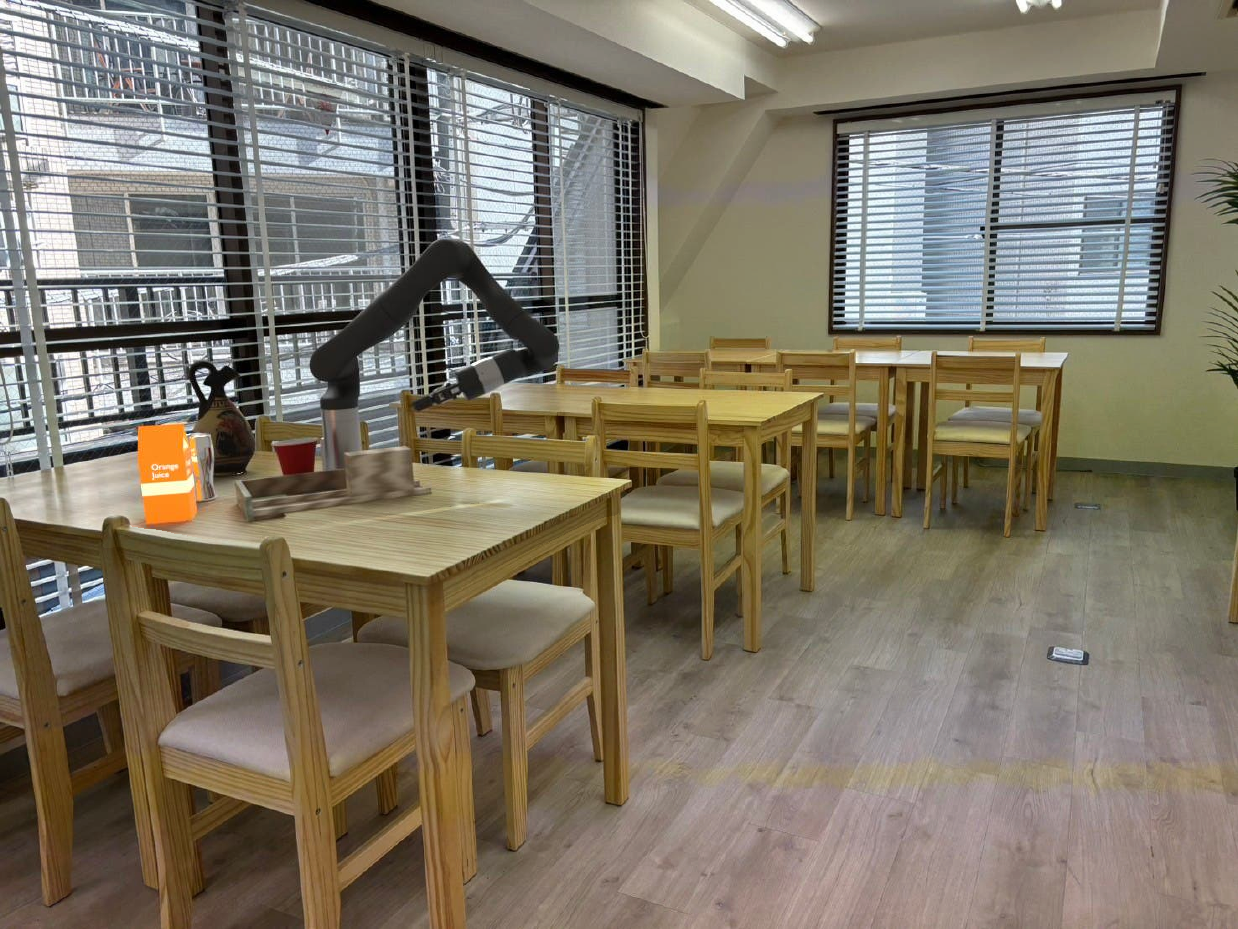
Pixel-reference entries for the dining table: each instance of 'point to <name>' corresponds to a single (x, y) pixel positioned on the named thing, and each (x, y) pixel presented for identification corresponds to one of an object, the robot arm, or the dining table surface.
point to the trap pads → (317, 491)
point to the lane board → (307, 501)
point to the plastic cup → (296, 455)
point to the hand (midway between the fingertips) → (414, 407)
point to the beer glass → (202, 465)
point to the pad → (269, 497)
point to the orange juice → (166, 474)
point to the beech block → (379, 471)
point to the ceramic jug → (222, 421)
